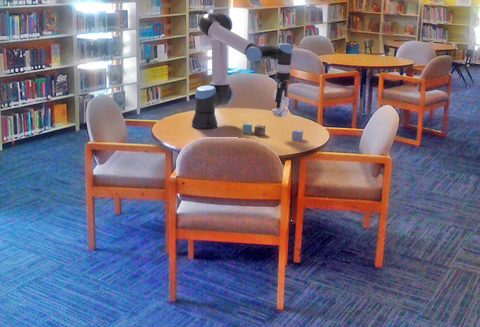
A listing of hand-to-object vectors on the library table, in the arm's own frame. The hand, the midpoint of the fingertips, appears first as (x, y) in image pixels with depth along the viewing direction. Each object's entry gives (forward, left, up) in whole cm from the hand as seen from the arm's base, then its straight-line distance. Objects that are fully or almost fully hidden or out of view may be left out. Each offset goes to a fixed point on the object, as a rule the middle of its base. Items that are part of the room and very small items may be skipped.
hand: (280, 112), depth 330 cm
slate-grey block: (+11, -2, -14) cm, 18 cm away
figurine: (0, 0, -3) cm, 3 cm away
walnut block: (-11, -2, -14) cm, 18 cm away
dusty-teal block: (-19, 0, -14) cm, 23 cm away
